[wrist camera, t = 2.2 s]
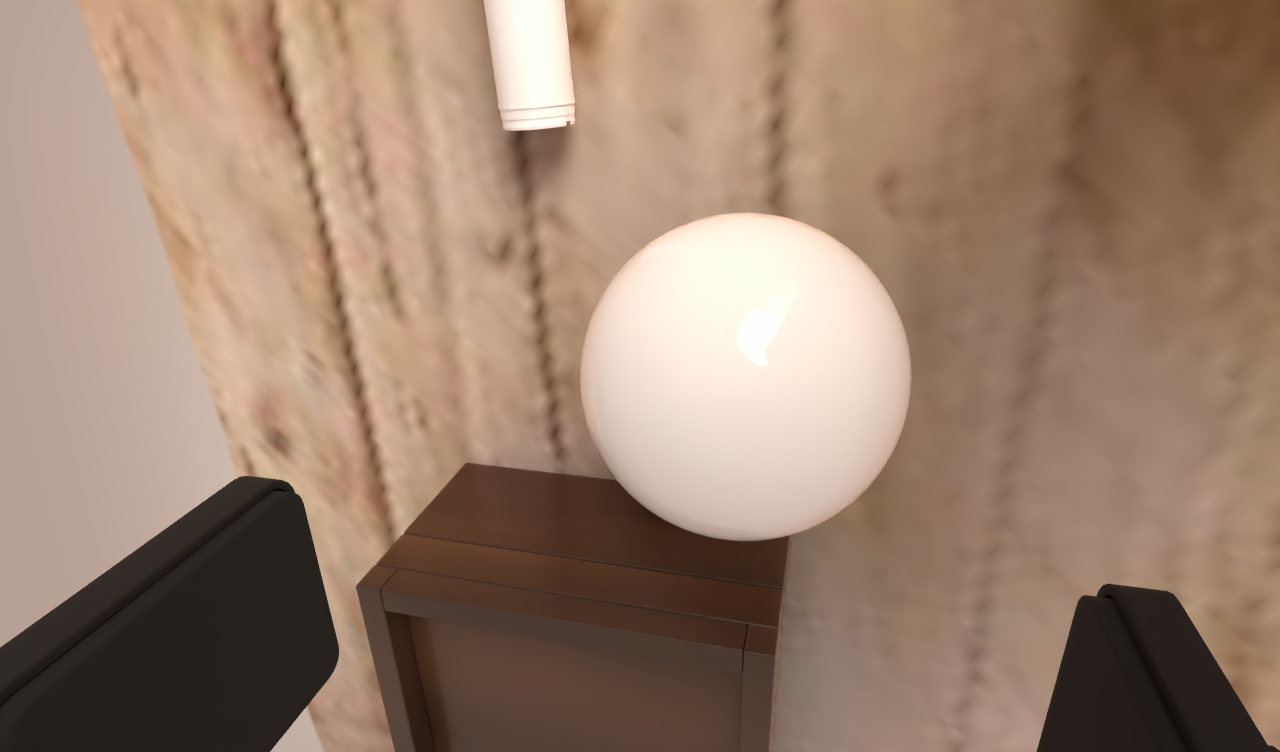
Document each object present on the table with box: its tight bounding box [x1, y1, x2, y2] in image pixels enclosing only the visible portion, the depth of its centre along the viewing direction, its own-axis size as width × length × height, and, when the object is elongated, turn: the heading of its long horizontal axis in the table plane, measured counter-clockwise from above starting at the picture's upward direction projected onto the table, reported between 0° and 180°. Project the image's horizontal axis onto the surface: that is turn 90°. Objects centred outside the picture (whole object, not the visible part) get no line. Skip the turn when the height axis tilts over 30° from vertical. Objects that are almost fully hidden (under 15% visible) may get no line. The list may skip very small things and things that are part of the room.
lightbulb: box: [580, 212, 911, 541], centre depth 17 cm, size 6×6×11 cm
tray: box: [356, 463, 791, 752], centre depth 26 cm, size 14×12×7 cm
